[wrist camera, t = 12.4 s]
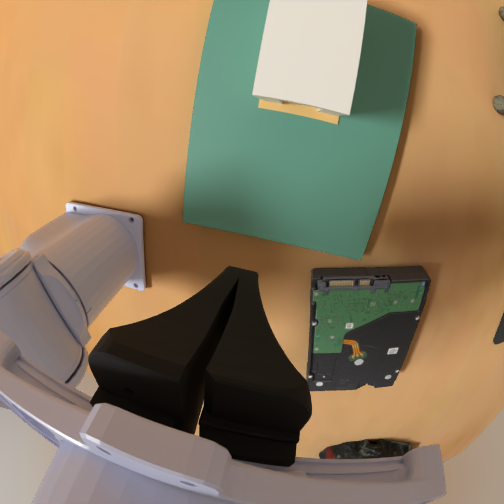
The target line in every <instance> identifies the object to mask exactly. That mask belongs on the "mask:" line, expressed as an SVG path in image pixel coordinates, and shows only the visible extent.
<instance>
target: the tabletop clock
mask: <svg viewBox="0 0 504 504" xmlns="http://www.w3.org/2000/svg"><path fill="white" fill-rule="evenodd" d="M499 14H500V16H501V17H502V18H503V19H504V7H500V8H499ZM493 106H494V108H495V110H496V111H497V112H498V113H500V114H504V97H503V96H501V95H498V96H495V97H494V99H493Z"/></svg>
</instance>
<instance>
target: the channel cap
mask: <svg viewBox="0 0 504 504" xmlns="http://www.w3.org/2000/svg"><path fill="white" fill-rule="evenodd" d="M366 7H367V0H270V2H269V7H268V12H267V17H266V22H265V27H264V32H263V38H262V43H261V48H260V54H259V59H258V65H257V70H256V76H255V82H254V87H253V93H252V95H254V96H255V97H257V98H259V99H261V100H263V101H266V102H272V103H278V104H283V101H286V102H292V103H297V104H302V105H306V106H311V107H315V108H317V112H321V113H325V114H329V115H333V116H343V115H350V110H351V105H352V100H353V95H354V89H355V84H356V78H357V72H358V66H359V60H360V54H361V47H362V40H363V32H364V25H365V16H366Z"/></svg>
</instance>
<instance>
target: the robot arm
mask: <svg viewBox="0 0 504 504" xmlns="http://www.w3.org/2000/svg"><path fill="white" fill-rule="evenodd" d="M76 208H77V209H76ZM131 218H133V220H134V221H132V220H131ZM136 284H137V285H136ZM123 286H127V287H130V288H134V289H137V290H140V291H143V290H144V289H145V288H146V279H145V264H144V243H143V219H142V217H141V216H140V215H138V214H133V213H128V212H122V211H117V210H112V209H107V208H102V207H96V206H91V205H86V204H81V203H75V202H68V203H66V213H64V214H63V215H61V216H59V217H58V218H56V219H54V220H53V221H51V222H49V223H48V224H46V225H45V226H43V227H41V228H40V229H38V230H37V231H35V232H34V233H32V234H31V235H29V236H28V237H27V238H26V239H25V241H24V242H23V244H22V245H21V247H20V248H17V249H15V250H13V251H11V252H9V253H7V254H6V255H4V256H2V257H1V258H0V407H3V408H6V409H10V410H12V411H13V412H14V413H15V414H17V415H18V416H19V417H20V418H21V419H22V420H23V421H24V422H26V423H27V424H28V425H29V426H30V427H32V428H33V429H34V430H35V431H37V432H38V433H39V434H41V435H42V436H43V437H44V438H46V439H47V440H48V441H50V442H51V443H53V444H54V445H55V446H57V447H58V450H57V452H56V454H55V456H54V458H53V460H52V462H51V464H50V466H49V468H48V470H47V472H46V474H45V476H44V478H43V480H42V482H41V484H40V486H39V488H38V491H37V493H36V495H35V497H34V500H33V502H32V504H425V503H428V502H431V501H433V500H436V499H438V498H440V497H443V496H445V495H446V484H445V477H444V469H443V462H442V456H441V450H440V445H439V444H435V445H429V446H422V447H417V448H415V449H412V450H410V451H409V452H407V453H406V454H405V455H404V456H398V457H387V458H373V459H317V458H302V457H295V456H296V445H297V443H298V442H299V436H300V430H301V429H302V428H303V427H304V425H305V424H306V423H307V422H308V420H309V419H310V417H311V415H312V403H311V395H310V390H309V386H308V382H307V381H306V380H305V378H304V377H303V376H302V375H301V374H300V373H299V372H298V371H297V369H296V368H295V367H294V366H293V364H292V363H291V362H290V360H289V359H288V358H287V356H286V354H285V353H284V351H283V350H282V348H281V346H280V345H279V343H278V341H277V340H276V338H275V336H274V334H273V332H272V329H271V327H270V325H269V323H268V320H267V317H266V315H265V312H264V308H263V305H262V301H261V297H260V292H259V286H258V273H257V272H254V271H249V270H245V269H240V268H236V267H231V266H229V267H227V268H226V269H225V270H224V271H223V272H222V273H221V274H220V275H219V276H218V277H217V278H215V279H214V280H213V281H212V282H211V283H209V284H208V285H207V286H206V287H205V288H203V289H202V290H201V291H199V292H198V293H196V294H195V295H194V296H192V297H191V298H189V299H188V300H186V301H184V302H183V303H181V304H179V305H178V306H176V307H174V308H172V309H170V310H168V311H166V312H163V313H161V314H159V315H157V316H154V317H151V318H148V319H146V320H142V321H139V322H136V323H132V324H128V325H124V326H119V327H115V328H110V329H109V330H108V331H107V332H106V333H105V334H104V335H103V336H102V338H101V339H100V340H99V342H98V343H97V345H96V346H95V347H94V349H93V350H92V352H91V353H90V354H89V356H88V352H87V350H86V348H85V345H86V344H87V343H88V341H89V340H90V339H91V336H90V334H89V332H88V328H89V326H90V325H91V324H92V323H93V321H94V320H95V319H96V318H97V316H98V315H99V314H100V313H101V312H102V310H103V309H104V308H105V307H106V306H107V304H108V303H109V302H110V301H111V300H112V298H113V297H114V296H115V295H116V294H117V293H118V291H119V290H120V289H121V288H122V287H123ZM88 362H89V365H90V369H91V371H92V373H93V375H94V377H95V379H96V381H97V383H98V385H99V387H98V389H97V391H96V392H95V394H94V396H93V397H90V396H88V395H86V394H84V393H82V392H81V391H79V390H77V389H75V388H76V387H77V386H78V385H79V383H80V382H81V380H82V378H83V377H84V374H85V372H86V369H87V366H88ZM203 401H204V407H203V410H202V413H201V416H200V419H199V415H200V412H201V408H202V405H203ZM198 419H199V425H200V427H199V436H196V435H194V434H195V430H196V426H197V423H198Z"/></svg>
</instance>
